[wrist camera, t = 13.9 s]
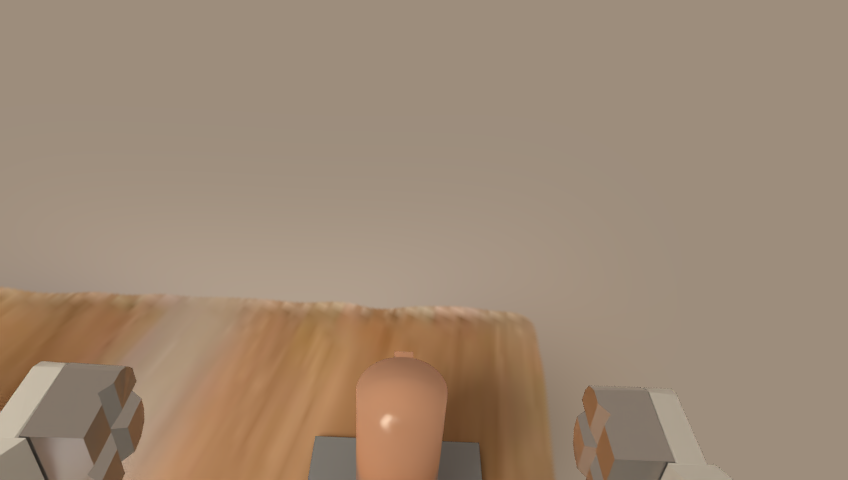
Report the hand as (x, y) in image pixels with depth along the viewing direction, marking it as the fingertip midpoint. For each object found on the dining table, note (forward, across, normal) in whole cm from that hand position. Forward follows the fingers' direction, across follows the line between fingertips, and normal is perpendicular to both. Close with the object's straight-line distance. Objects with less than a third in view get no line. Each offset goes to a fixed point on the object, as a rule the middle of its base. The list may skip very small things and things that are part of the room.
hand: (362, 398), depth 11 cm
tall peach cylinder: (+18, -1, +29) cm, 34 cm away
